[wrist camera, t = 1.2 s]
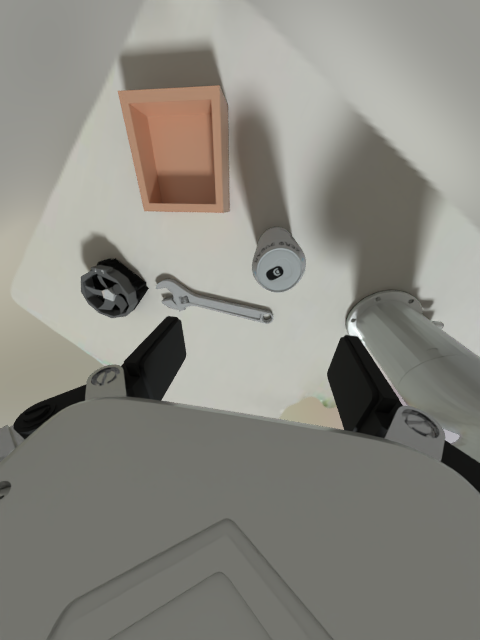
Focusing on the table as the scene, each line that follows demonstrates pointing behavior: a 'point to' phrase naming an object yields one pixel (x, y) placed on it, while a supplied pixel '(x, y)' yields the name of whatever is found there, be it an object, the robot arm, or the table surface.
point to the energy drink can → (278, 260)
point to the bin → (179, 147)
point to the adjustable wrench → (208, 302)
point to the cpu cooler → (112, 288)
